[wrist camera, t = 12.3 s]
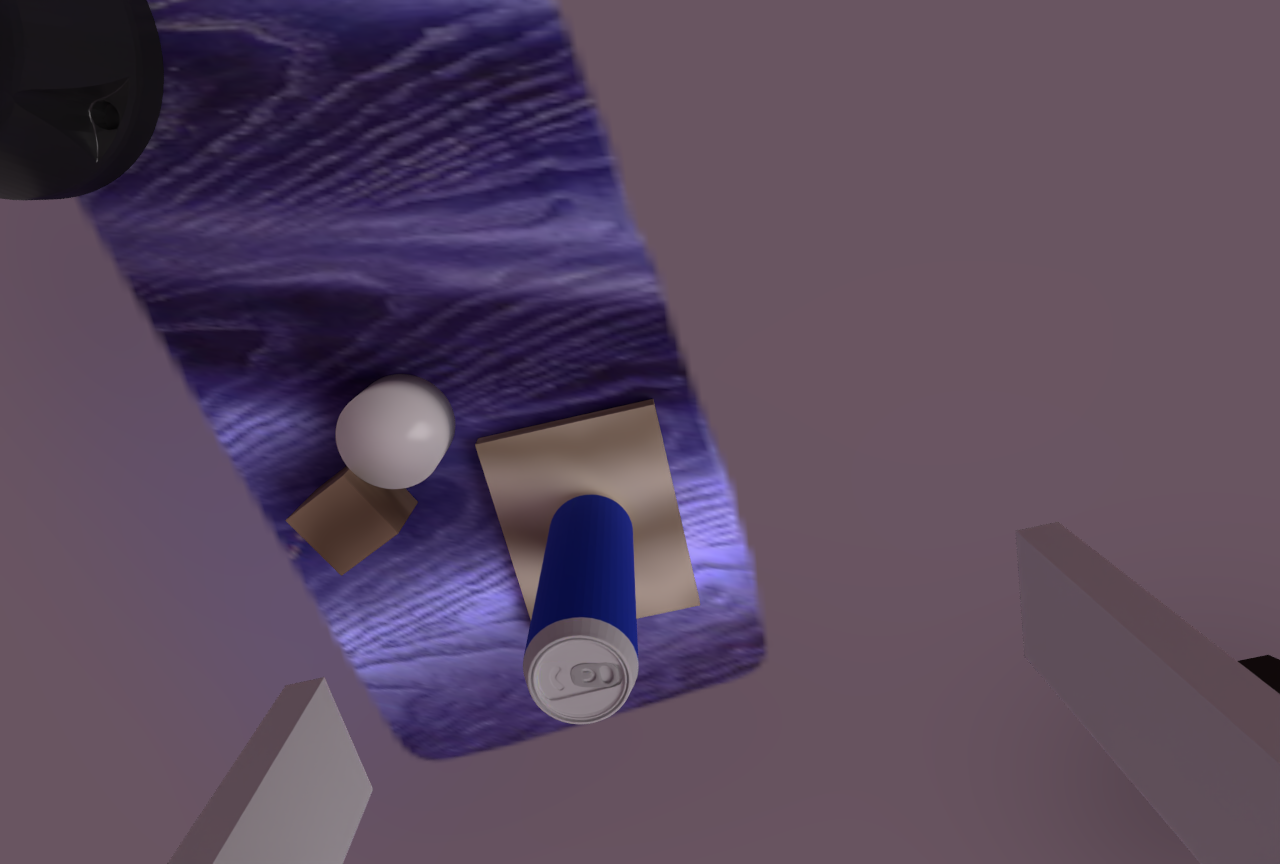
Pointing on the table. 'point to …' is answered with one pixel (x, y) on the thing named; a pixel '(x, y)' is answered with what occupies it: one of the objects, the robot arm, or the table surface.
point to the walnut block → (350, 518)
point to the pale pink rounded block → (395, 431)
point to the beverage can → (584, 614)
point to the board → (600, 465)
